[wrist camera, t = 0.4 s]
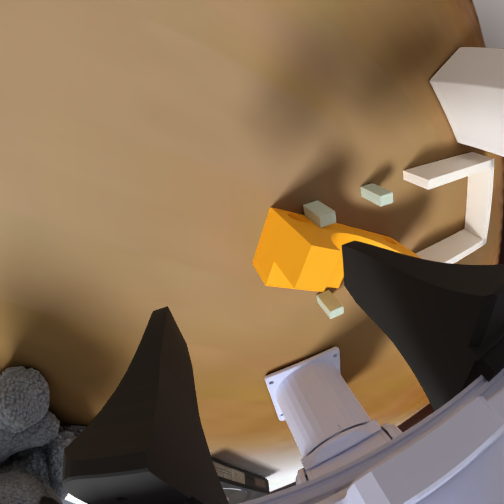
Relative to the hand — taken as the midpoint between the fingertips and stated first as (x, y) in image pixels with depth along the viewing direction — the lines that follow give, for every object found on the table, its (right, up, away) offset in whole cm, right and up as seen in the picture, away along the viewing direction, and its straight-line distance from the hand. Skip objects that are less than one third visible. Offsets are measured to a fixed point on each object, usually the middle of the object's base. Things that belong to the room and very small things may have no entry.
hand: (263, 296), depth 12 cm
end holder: (+18, +6, +14) cm, 23 cm away
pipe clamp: (+6, +2, +12) cm, 14 cm away
